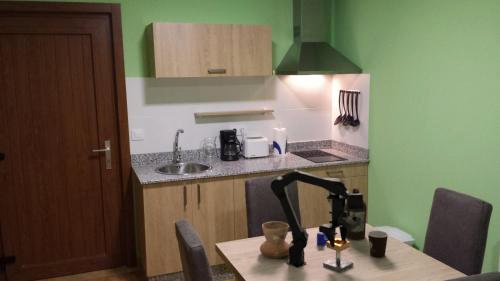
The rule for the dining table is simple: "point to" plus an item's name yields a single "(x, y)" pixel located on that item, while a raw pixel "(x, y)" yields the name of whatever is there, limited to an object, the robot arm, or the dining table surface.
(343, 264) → the post
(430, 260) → the dining table surface
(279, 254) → the ceramic jug
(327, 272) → the dining table surface
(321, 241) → the cable clip
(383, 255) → the coffee mug
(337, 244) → the wooden square frame
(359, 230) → the brown bottle
